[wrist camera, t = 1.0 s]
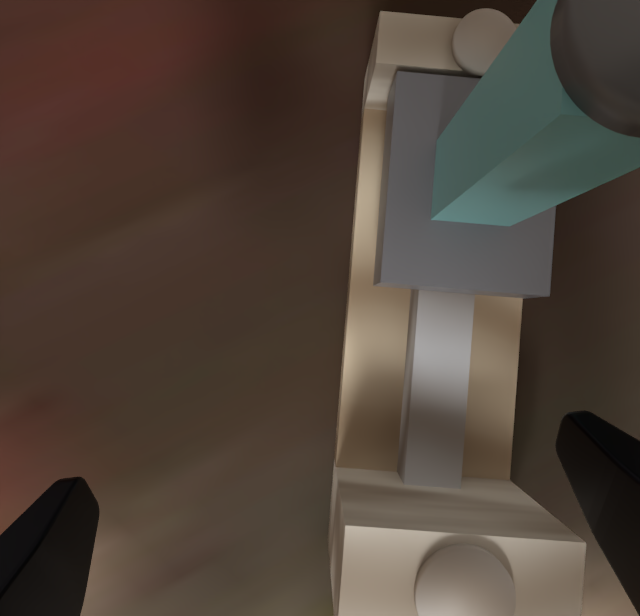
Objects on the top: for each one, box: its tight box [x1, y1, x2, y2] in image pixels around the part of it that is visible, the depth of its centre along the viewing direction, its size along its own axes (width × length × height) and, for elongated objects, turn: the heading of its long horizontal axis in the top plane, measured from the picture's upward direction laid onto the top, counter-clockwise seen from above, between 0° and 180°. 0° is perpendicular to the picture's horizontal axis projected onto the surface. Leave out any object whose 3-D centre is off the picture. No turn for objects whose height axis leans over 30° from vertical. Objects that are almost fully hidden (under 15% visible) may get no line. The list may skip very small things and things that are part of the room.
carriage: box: [373, 0, 640, 299], centre depth 13 cm, size 8×6×12 cm
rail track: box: [328, 8, 586, 616], centre depth 18 cm, size 22×8×7 cm, turn 175°
